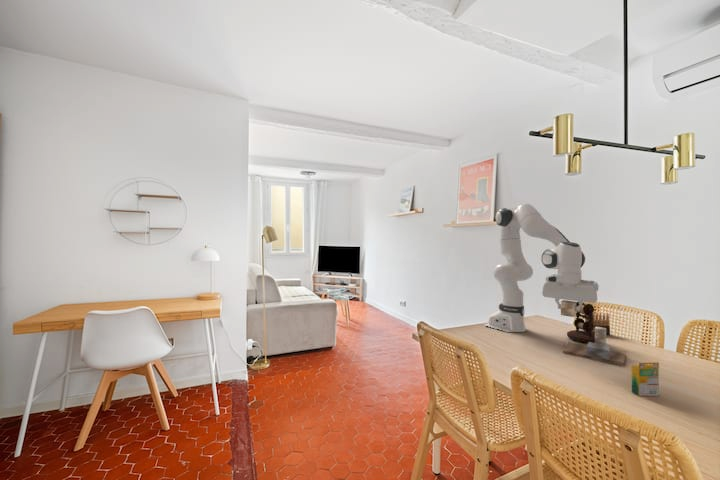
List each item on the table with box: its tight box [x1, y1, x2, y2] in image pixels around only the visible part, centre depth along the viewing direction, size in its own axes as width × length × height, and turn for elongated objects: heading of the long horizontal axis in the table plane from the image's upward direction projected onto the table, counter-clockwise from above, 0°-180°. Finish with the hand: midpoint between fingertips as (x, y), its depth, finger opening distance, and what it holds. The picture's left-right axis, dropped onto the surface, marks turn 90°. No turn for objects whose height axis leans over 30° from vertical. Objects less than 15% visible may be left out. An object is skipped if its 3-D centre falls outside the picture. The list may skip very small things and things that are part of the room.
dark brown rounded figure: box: [566, 301, 595, 344], centre depth 165 cm, size 15×15×20 cm
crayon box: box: [631, 361, 660, 397], centre depth 109 cm, size 7×3×12 cm, turn 92°
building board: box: [562, 327, 626, 367], centre depth 146 cm, size 22×16×11 cm
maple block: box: [560, 299, 577, 318], centre depth 139 cm, size 5×5×6 cm
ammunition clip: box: [592, 312, 611, 336], centre depth 176 cm, size 11×2×12 cm, turn 77°
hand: (568, 309), depth 139 cm, fingers closed on maple block, 5 cm apart
